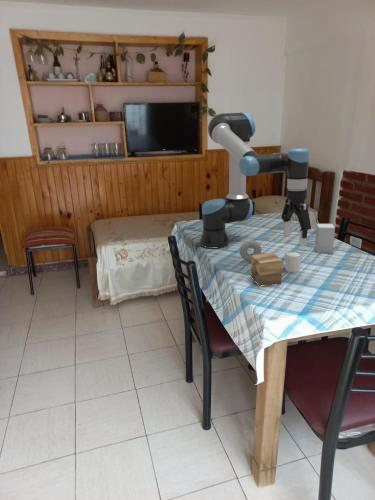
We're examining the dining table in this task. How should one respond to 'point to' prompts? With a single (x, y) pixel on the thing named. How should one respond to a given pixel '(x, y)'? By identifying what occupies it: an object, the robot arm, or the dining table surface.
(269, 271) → the oak block
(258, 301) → the dining table surface
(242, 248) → the donut
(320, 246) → the supplement box
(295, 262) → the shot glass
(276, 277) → the walnut block
